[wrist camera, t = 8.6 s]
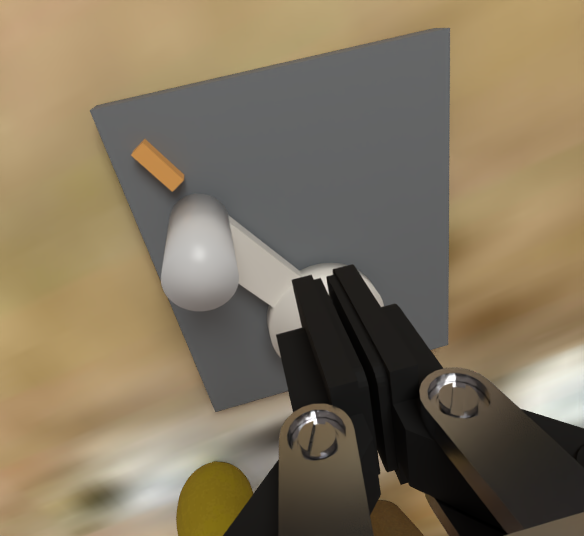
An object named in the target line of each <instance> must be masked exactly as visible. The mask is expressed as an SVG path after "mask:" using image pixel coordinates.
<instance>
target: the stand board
mask: <svg viewBox="0 0 584 536" xmlns="http://www.w3.org/2000/svg"><path fill="white" fill-rule="evenodd" d="M449 105H450V28H433V29H429V30H425V31H420V32H416V33H411V34H407V35H403V36H398V37H394V38H390V39H385V40H381V41H376V42H372V43H368V44H363V45H359V46H355V47H350V48H346V49H341V50H337V51H333V52H328V53H324V54H320V55H315V56H311V57H306V58H302V59H298V60H293V61H289V62H285V63H280V64H276V65H271V66H267V67H263V68H258V69H254V70H250V71H245V72H241V73H236V74H232V75H228V76H223V77H219V78H215V79H210V80H206V81H201V82H197V83H193V84H188V85H184V86H180V87H175V88H171V89H166V90H162V91H158V92H153V93H149V94H145V95H140V96H136V97H131V98H127V99H123V100H118V101H114V102H110V103H105V104H101V105H97V106H95V107H94V108H92V109H91V110H90V112H91V115H92V117H93V119H94V122H95V124H96V127H97V129H98V131H99V134H100V136H101V139H102V141H103V143H104V146H105V148H106V151H107V153H108V155H109V158H110V160H111V163H112V165H113V167H114V170H115V172H116V175H117V177H118V179H119V182H120V184H121V187H122V189H123V191H124V194H125V196H126V199H127V201H128V203H129V206H130V208H131V211H132V213H133V215H134V218H135V220H136V223H137V225H138V227H139V230H140V232H141V235H142V237H143V239H144V242H145V244H146V247H147V249H148V251H149V254H150V256H151V259H152V261H153V263H154V266H155V268H156V271H157V273H158V275H159V278H160V280H161V273H162V266H163V259H164V252H165V246H166V239H167V232H168V225H169V219H170V213H171V211H172V208H173V207H174V205H175V204H176V203H177V202H178V201H179V200H180V199H182V198H183V197H185V196H188V195H191V194H206V195H210V196H212V197H214V198H216V199H217V200H219V201H220V202H221V203H222V204H223V205H224V207H225V208H226V210H227V212H228V215H229V216H230V217H231V218H233V219H234V220H235V221H236V222H238V223H239V224H240V225H242V226H243V227H244V228H245V229H247V230H248V231H249V232H251V233H252V234H253V235H254V236H256V237H257V238H258V239H259V240H261V241H262V242H263V243H265V244H266V245H267V246H268V247H270V248H271V249H272V250H274V251H275V252H276V253H277V254H279V255H280V256H281V257H283V258H284V259H285V260H286V261H288V262H289V263H290V264H292V265H293V266H294V267H295V268H297V269H298V270H299V271H300V270H302V269H304V268H306V267H309V266H312V265H316V264H321V263H340V264H345V265H351V264H353V265H354V266H355V267H356V269H357V270H359V271H361V272H362V273H363V274H364V275H365V276H366V277H367V278H368V279H369V280H370V282H371V283H372V285H373V286H374V287H375V289H376V290H377V292H378V293H379V295H380V296H381V298H382V301H383V304H384V306H387V305H391V304H397V305H398V306H399V307H400V308H401V310H402V311H403V312H404V314H405V315H406V317H407V318H408V320H409V321H410V322H411V324H412V325H413V327H414V328H415V329H416V331H417V332H418V334H419V335H420V336H421V338H422V339H423V341H424V342H425V343H426V345H427V346H428V348H429V349H430V350H432V349H435V348H439V347H442V346H446V345H448V277H449ZM168 299H169V298H168ZM169 302H170V304H171V307H172V309H173V311H174V314H175V316H176V319H177V321H178V323H179V326H180V328H181V331H182V333H183V335H184V338H185V340H186V343H187V345H188V347H189V350H190V352H191V355H192V357H193V359H194V362H195V364H196V367H197V369H198V371H199V374H200V376H201V379H202V381H203V383H204V386H205V388H206V391H207V393H208V395H209V398H210V400H211V403H212V405H213V407H214V410H215V412H217V411H221V410H224V409H228V408H231V407H235V406H238V405H242V404H245V403H248V402H252V401H255V400H259V399H262V398H266V397H269V396H273V395H276V394H280V393H283V392H287V391H288V387H287V383H286V378H285V374H284V369H283V365H282V360H281V357H280V356H279V355H278V354H277V352H276V351H275V349H274V347H273V345H272V341H271V338H270V334H269V329H268V325H267V311H268V306H269V304H267V303H266V302H264V301H263V300H262V299H260V298H259V297H257V296H256V295H254V294H253V293H251V292H250V291H249V290H247V289H246V288H244V287H243V286H241V285H240V284H239V283H238V287H237V289H236V292H235V293H234V295H233V296H232V297H231V299H230V300H229V301H227V302H226V303H225V304H223V305H222V306H220V307H218V308H216V309H212V310H209V311H190V310H187V309H184V308H181V307H179V306H177V305H176V304H174V303H173V302H172V301H171V300H170V299H169Z"/></svg>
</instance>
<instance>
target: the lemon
mask: <svg viewBox="0 0 584 536" xmlns="http://www.w3.org/2000/svg"><path fill="white" fill-rule="evenodd" d="M252 495H253V492H252V488H251V485H250V483H249V481H248V479H247V478H246V476H245V475H244V474H243V473H242V472H241V470H239V469H238V468H237V467H235V466H233V465H231V464H229V463H225V462H217V461H214V462H212V463H209V464H206V465H204V466H202V467H200V468H199V469H197V470H196V471H195V472H194V473H193V474H192V475H191V476H190V477H189V478H188V480H187V481H186V483H185V485H184V486H183V488H182V491H181V493H180V497H179V501H178V507H177V516H176V520H177V531H178V536H223V535H224V533H225V532H226V531H227V529H228V528H229V527H230V525H231V524H232V523H233V521H234V520H235V518H236V517H237V516H238V514H239V513H240V512H241V510H242V509H243V508H244V506H245V505H246V503H247V502H248V501H249V499H250V498H251V497H252Z"/></svg>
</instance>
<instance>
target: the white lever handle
mask: <svg viewBox="0 0 584 536" xmlns="http://www.w3.org/2000/svg"><path fill="white" fill-rule="evenodd" d="M343 266H347V265H345V264H340V263H321V264H316V265H312V266H309V267H306V268H304V269H302V270H300V271H299V270H298V269H297V268H295V267H294V266H293V265H292V264H290V263H289V262H288V261H286V260H285V259H284V258H283V257H281V256H280V255H279V254H277V253H276V252H275V251H274V250H272V249H271V248H270V247H268V246H267V245H266V244H265V243H263V242H262V241H261V240H259V239H258V238H257V237H256V236H254V235H253V234H252V233H251V232H249V231H248V230H247V229H245V228H244V227H243V226H242V225H240V224H239V223H238V222H236V221H235V220H234V219H233V218H231V217H230V216H229V215H228V212H227V210H226V208H225V207H224V205H223V204H222V203H221V202H220V201H219V200H217V199H216V198H214V197H212V196H210V195H206V194H191V195H188V196H185V197H183V198H182V199H180V200H179V201H178V202H177V203H176V204H175V205H174V207H173V208H172V211H171V213H170V219H169V225H168V232H167V239H166V246H165V252H164V259H163V266H162V273H161V284H162V288H163V290H164V293H165V294H166V296H167V297H168V298H169V299H170V300H171V301H172V302H173V303H174V304H176V305H177V306H179V307H181V308H184V309H187V310H190V311H209V310H212V309H216V308H218V307H220V306H222V305H223V304H225V303H226V302H227V301H229V300H230V299H231V297H232V296H233V295H234V293H235V292H236V289H237V287H238V283H239V284H240V285H241V286H243V287H244V288H246V289H247V290H249V291H250V292H251V293H253V294H254V295H256V296H257V297H259V298H260V299H262V300H263V301H264V302H266V303H267V304H269V306H268V311H267V325H268V329H269V334H270V338H271V341H272V345H273V347H274V349H275V351H276V352H277V354H278V355H279V356H280V351H279V347H278V342H277V338H276V334H280V333H283V332H287V331H291V330H295V329H299V328H302V326H301V321H300V317H299V312H298V308H297V303H296V299H295V294H294V290H293V285H292V279H296V278H300V277H304V276H308V275H312V277H313V279H318V278H321V279H322V281H323V284H324V286H325V288H326V290H327V292H328V294H329V291H328V286H327V279H326V277H327V276H330V275H333V269H335V268H339V267H343ZM358 272H359V273H360V275H361V277H362V278H363V280H364V281H365V283H366V284H367V286H368V287H369V289H370V291H371V292H372V294H373V295H374V297H375V298H376V300H377V301H378V303H379V305H380V306H381V307H383V306H384V304H383V301H382V298H381V296H380V295H379V293H378V292H377V290H376V289H375V287H374V286H373V285H372V283H371V282H370V280H369V279H368V278H367V277H366V276H365V275H364V274H363V273H362V272H361V271H359V270H358ZM280 357H281V356H280Z"/></svg>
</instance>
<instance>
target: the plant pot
mask: <svg viewBox="0 0 584 536" xmlns="http://www.w3.org/2000/svg"><path fill="white" fill-rule="evenodd" d="M370 518H371V524H372V529H373V535H374V536H424V535H423V534H422V533H421V532H420V530H419V529H418V528H417V527H416V526H415V525H414V524H413V523H412V522H411V520H410V519H409V518H408V517H407V516H406V515H405V514H404V513H403V512H402V511H401V510H400V509H399V508H398V506H396V505H395V504H393V503H391V502H388V501H383V500H378V501H377V503H376V505H375V507H374V509H373V511H372V513H371V515H370Z"/></svg>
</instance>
